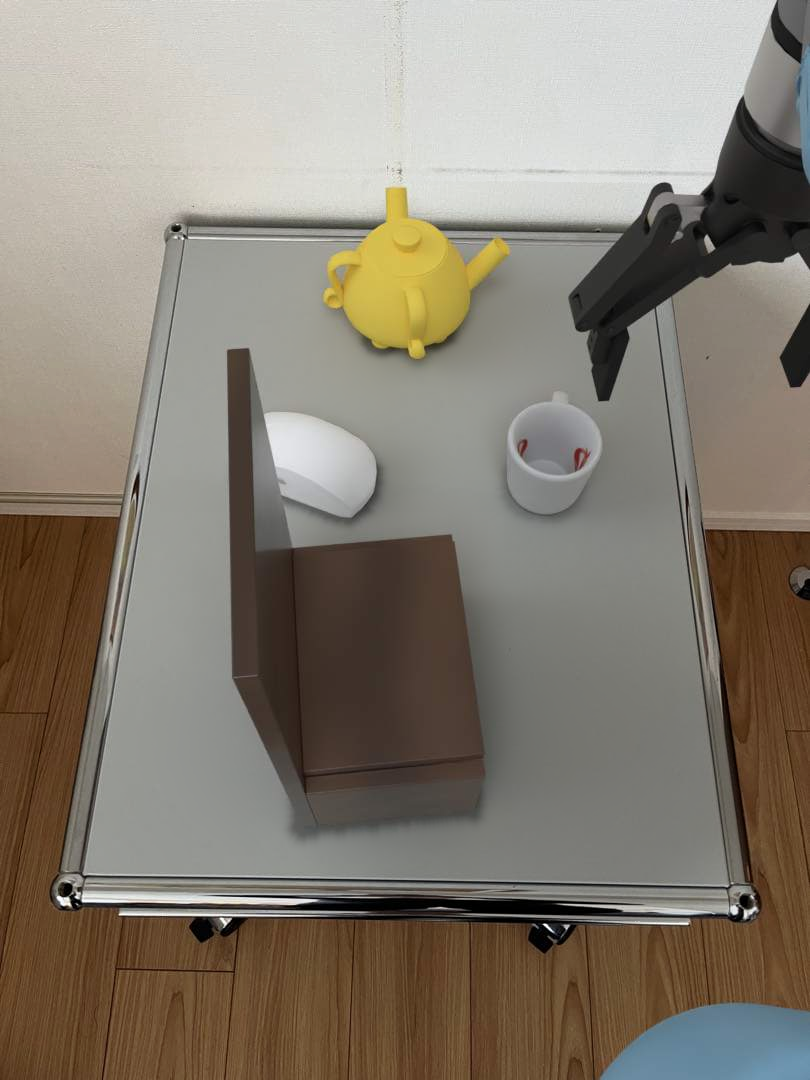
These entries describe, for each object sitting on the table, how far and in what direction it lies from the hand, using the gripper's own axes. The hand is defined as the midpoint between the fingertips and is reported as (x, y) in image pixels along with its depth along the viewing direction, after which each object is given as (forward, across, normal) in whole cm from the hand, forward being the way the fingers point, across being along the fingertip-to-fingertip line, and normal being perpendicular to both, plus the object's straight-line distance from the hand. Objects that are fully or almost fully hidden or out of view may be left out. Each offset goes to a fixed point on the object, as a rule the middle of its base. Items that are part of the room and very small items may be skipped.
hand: (695, 379), depth 66 cm
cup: (+21, +7, -6) cm, 22 cm away
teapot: (+20, +17, -26) cm, 37 cm away
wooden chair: (+21, +23, +15) cm, 34 cm away
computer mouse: (+21, +28, -8) cm, 36 cm away
